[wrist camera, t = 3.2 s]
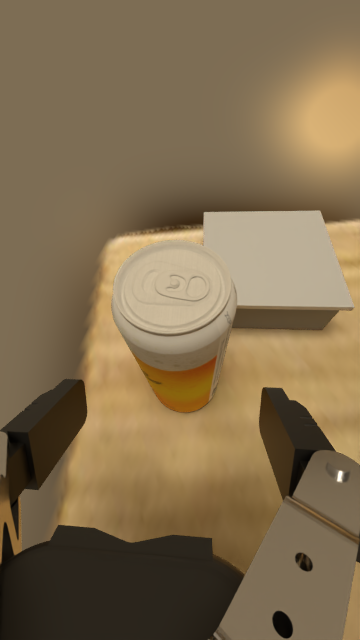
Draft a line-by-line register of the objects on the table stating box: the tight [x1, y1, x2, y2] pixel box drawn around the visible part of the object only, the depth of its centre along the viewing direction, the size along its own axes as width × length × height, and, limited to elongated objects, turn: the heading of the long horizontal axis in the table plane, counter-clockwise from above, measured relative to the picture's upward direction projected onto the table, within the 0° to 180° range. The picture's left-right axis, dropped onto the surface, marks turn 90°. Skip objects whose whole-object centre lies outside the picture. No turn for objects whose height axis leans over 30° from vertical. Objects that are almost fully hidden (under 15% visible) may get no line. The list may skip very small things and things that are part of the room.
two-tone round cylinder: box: [111, 240, 237, 412], centre depth 17 cm, size 6×6×15 cm
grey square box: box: [203, 211, 354, 330], centre depth 27 cm, size 13×13×5 cm
